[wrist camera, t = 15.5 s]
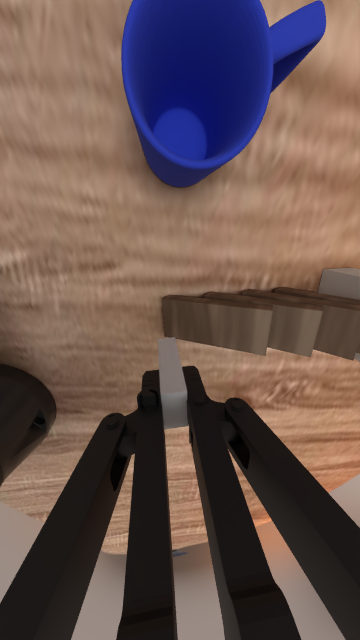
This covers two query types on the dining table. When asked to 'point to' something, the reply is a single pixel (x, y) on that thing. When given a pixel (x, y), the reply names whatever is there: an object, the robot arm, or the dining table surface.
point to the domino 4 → (317, 296)
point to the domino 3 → (327, 323)
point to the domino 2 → (285, 322)
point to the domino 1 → (218, 322)
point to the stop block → (341, 285)
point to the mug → (206, 77)
